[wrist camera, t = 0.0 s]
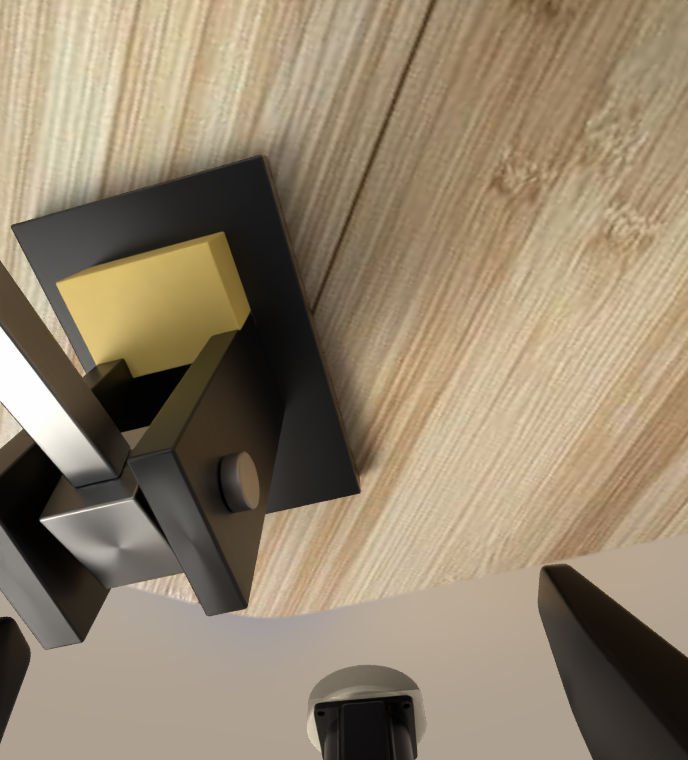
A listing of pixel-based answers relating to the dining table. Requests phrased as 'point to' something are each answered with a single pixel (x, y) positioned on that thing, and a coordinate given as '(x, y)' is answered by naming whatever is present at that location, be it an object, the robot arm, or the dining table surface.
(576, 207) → the dining table surface
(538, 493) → the dining table surface
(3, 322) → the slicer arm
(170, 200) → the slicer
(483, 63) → the dining table surface
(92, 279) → the butter
